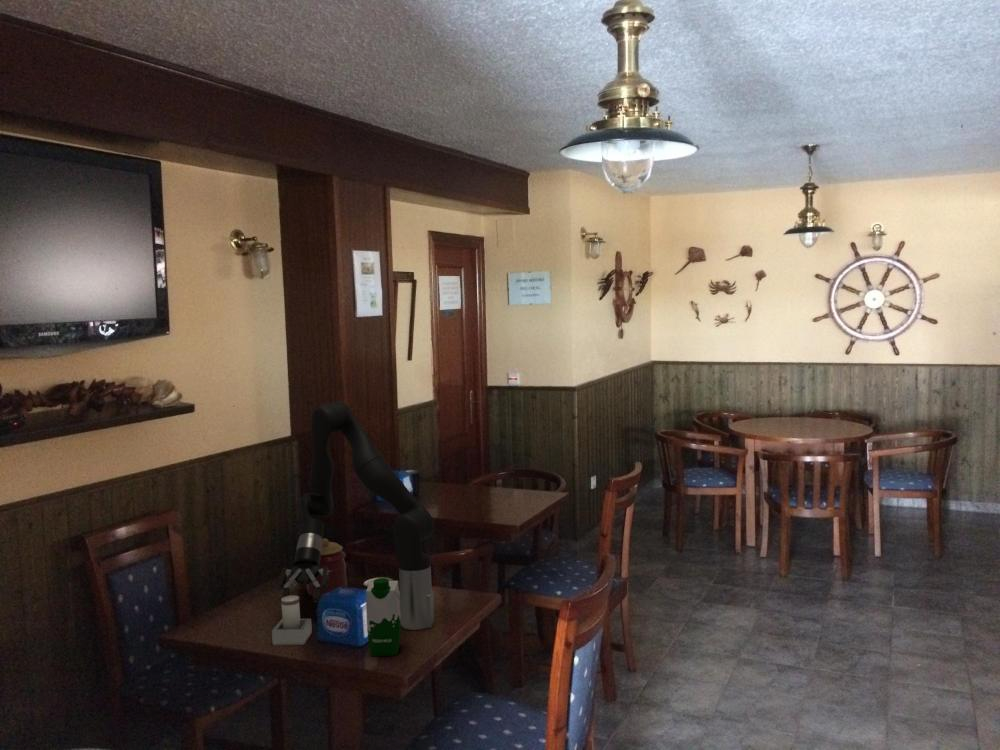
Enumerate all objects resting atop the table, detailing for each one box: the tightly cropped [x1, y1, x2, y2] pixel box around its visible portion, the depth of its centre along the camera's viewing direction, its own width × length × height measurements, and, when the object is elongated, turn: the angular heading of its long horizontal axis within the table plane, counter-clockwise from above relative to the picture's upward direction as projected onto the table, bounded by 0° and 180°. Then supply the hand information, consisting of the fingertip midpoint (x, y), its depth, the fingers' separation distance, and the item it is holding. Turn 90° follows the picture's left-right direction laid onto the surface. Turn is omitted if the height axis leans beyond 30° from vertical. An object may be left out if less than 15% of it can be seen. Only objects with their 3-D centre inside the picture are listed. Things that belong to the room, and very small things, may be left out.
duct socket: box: [271, 618, 313, 646], centre depth 233 cm, size 9×9×4 cm
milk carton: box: [365, 577, 402, 657], centre depth 222 cm, size 9×9×20 cm
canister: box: [306, 538, 348, 597], centre depth 272 cm, size 13×13×18 cm
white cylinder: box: [280, 594, 301, 629], centre depth 233 cm, size 5×5×11 cm
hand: (300, 601), depth 242 cm, fingers open, 8 cm apart
